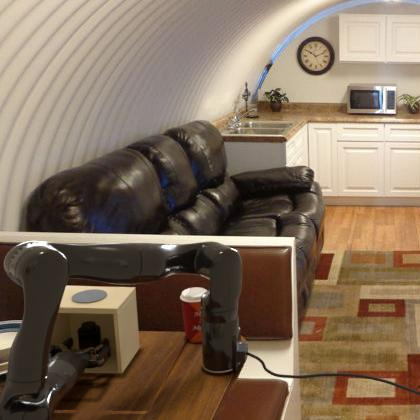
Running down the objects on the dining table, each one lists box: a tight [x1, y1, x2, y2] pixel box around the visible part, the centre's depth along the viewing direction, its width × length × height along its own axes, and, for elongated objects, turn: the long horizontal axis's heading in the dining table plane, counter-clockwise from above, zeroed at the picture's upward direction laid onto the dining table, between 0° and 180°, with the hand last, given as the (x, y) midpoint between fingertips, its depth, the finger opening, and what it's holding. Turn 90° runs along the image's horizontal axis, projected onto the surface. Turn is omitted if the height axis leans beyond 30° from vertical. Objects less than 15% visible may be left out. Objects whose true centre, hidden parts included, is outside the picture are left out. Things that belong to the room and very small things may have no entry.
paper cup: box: [179, 286, 208, 344], centre depth 177 cm, size 8×8×14 cm
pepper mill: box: [77, 321, 102, 368], centre depth 159 cm, size 5×5×11 cm
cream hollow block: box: [51, 285, 141, 374], centre depth 161 cm, size 18×13×19 cm
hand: (89, 341), depth 159 cm, fingers open, 8 cm apart
